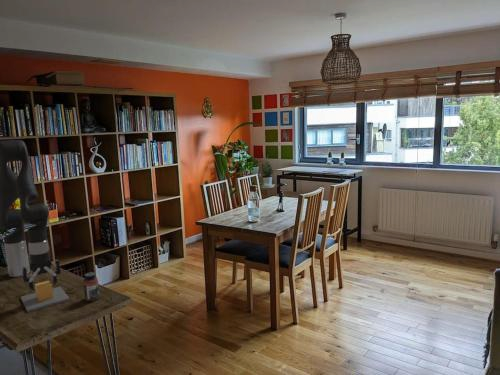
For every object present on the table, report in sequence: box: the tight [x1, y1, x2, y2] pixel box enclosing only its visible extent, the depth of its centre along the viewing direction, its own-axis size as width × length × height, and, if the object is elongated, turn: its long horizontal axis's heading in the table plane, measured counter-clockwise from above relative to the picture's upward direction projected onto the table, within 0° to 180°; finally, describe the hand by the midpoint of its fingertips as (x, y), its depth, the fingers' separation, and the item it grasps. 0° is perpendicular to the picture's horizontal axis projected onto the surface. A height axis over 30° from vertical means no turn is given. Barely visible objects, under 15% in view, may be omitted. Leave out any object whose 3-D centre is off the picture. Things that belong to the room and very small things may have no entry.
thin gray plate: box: [20, 286, 71, 313], centre depth 169 cm, size 16×16×5 cm
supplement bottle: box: [82, 271, 101, 302], centre depth 168 cm, size 6×6×11 cm
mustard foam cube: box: [34, 280, 53, 302], centre depth 168 cm, size 6×6×6 cm
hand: (43, 286), depth 168 cm, fingers open, 8 cm apart
